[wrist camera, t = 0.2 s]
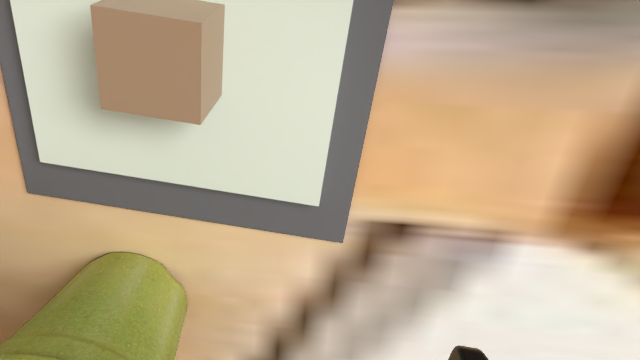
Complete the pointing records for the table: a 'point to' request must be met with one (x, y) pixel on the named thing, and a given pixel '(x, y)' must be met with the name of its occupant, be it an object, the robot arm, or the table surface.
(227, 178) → the sage lid
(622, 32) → the table surface
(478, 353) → the robot arm
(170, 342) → the plant pot
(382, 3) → the gray flat panel
